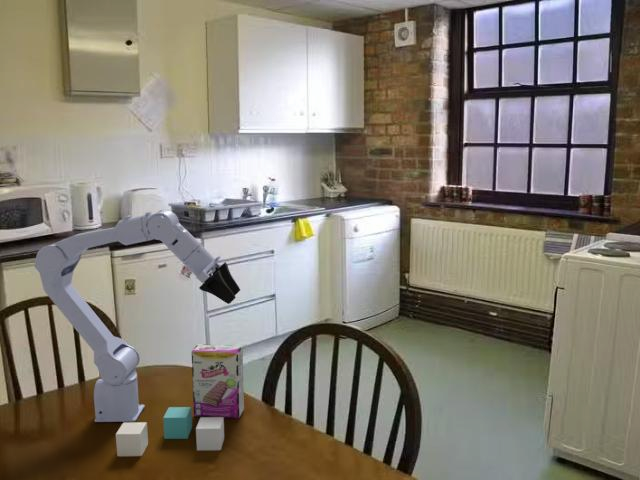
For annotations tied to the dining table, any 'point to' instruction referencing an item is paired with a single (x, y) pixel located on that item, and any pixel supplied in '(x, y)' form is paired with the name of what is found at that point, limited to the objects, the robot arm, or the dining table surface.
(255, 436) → the dining table surface
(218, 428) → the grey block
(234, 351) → the candy bar box
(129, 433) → the offwhite block
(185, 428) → the teal block
